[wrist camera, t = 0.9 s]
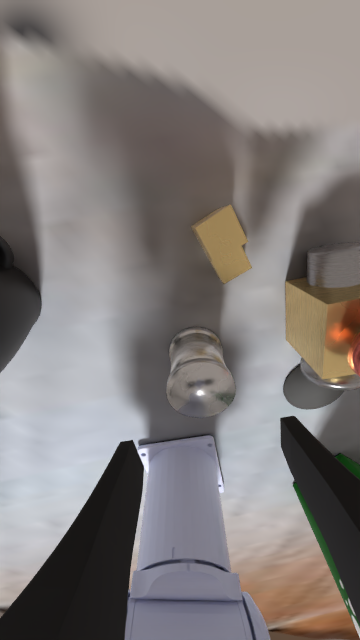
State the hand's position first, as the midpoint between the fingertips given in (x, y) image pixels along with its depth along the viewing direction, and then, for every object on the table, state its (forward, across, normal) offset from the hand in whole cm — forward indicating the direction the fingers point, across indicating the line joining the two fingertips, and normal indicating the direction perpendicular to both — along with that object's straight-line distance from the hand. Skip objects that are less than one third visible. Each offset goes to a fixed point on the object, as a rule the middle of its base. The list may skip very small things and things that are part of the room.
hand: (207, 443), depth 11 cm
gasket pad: (+8, -10, +6) cm, 14 cm away
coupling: (+8, 0, 0) cm, 9 cm away
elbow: (+9, -3, -8) cm, 12 cm away
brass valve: (+8, -10, -2) cm, 13 cm away
